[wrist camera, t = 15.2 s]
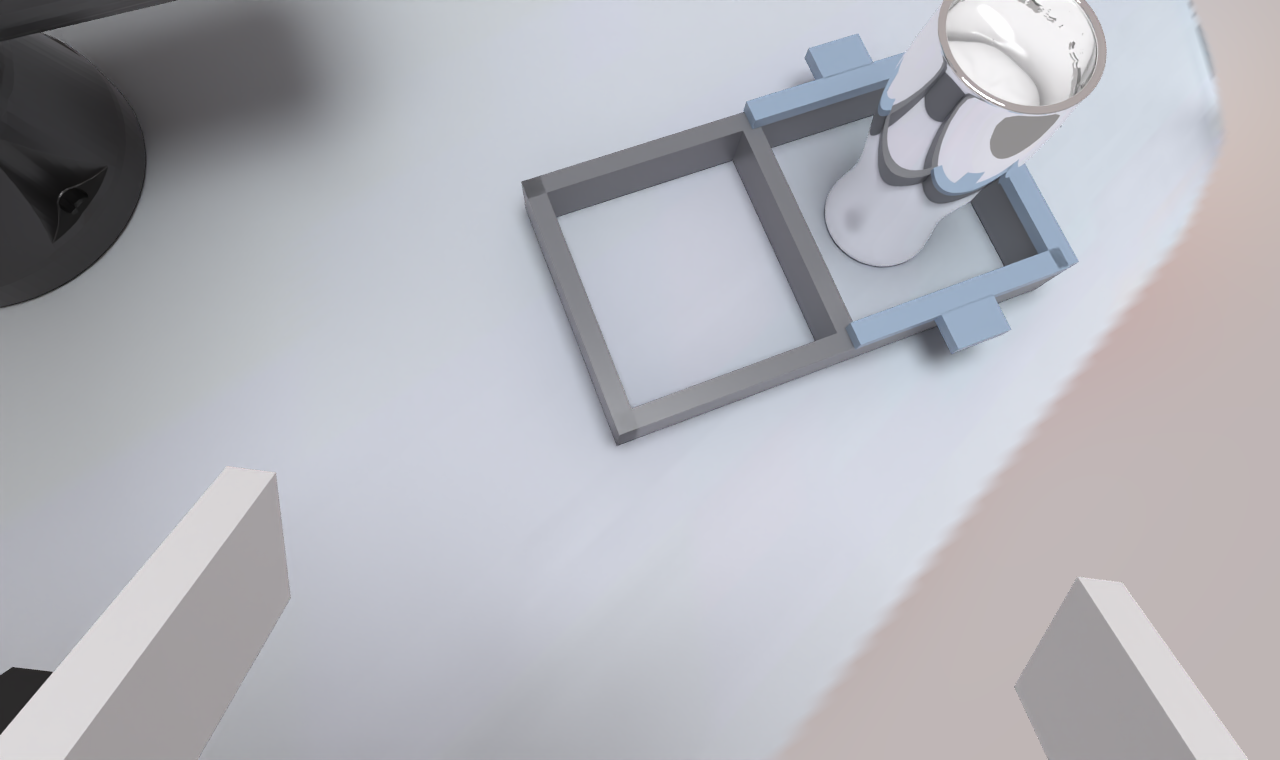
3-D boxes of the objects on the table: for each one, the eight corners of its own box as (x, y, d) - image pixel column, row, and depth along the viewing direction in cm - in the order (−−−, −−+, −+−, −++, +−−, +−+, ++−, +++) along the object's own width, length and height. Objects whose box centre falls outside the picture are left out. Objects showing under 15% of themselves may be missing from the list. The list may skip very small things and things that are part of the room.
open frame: (514, 177, 42) (507, 140, 39) (911, 53, 46) (939, 8, 42) (631, 482, 39) (635, 472, 35) (1053, 320, 42) (1097, 296, 39)
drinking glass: (961, 239, 43) (1149, 69, 29) (862, 296, 42) (1008, 148, 28) (890, 142, 45) (1037, -67, 30) (792, 195, 43) (896, 3, 29)
